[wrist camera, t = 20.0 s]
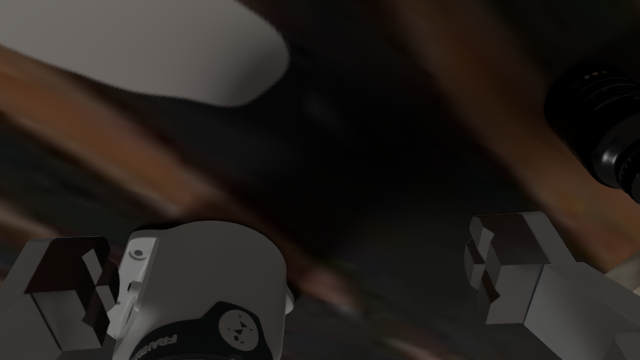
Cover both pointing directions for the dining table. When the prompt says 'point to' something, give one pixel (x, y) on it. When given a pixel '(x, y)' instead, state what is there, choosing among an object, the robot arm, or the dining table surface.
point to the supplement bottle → (599, 123)
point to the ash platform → (628, 273)
